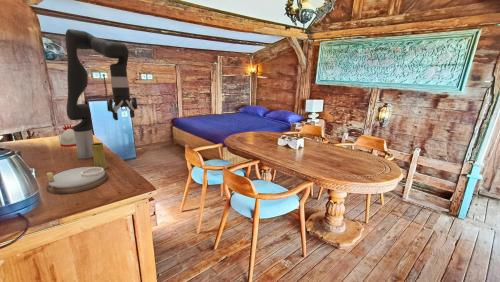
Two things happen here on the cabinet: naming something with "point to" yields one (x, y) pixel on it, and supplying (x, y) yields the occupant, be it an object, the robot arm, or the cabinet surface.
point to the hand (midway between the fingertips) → (124, 118)
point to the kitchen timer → (68, 137)
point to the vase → (99, 155)
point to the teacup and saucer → (59, 137)
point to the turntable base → (76, 189)
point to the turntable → (75, 177)
